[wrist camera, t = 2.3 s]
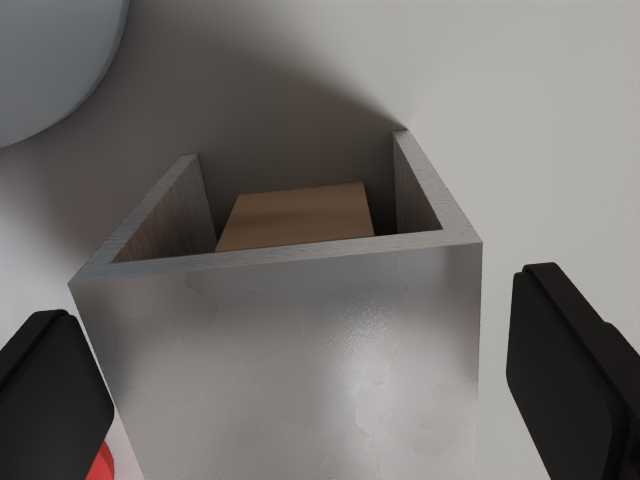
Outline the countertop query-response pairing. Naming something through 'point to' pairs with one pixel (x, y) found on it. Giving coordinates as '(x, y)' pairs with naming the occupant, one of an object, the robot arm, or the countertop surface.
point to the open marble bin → (291, 340)
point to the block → (297, 217)
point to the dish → (53, 59)
